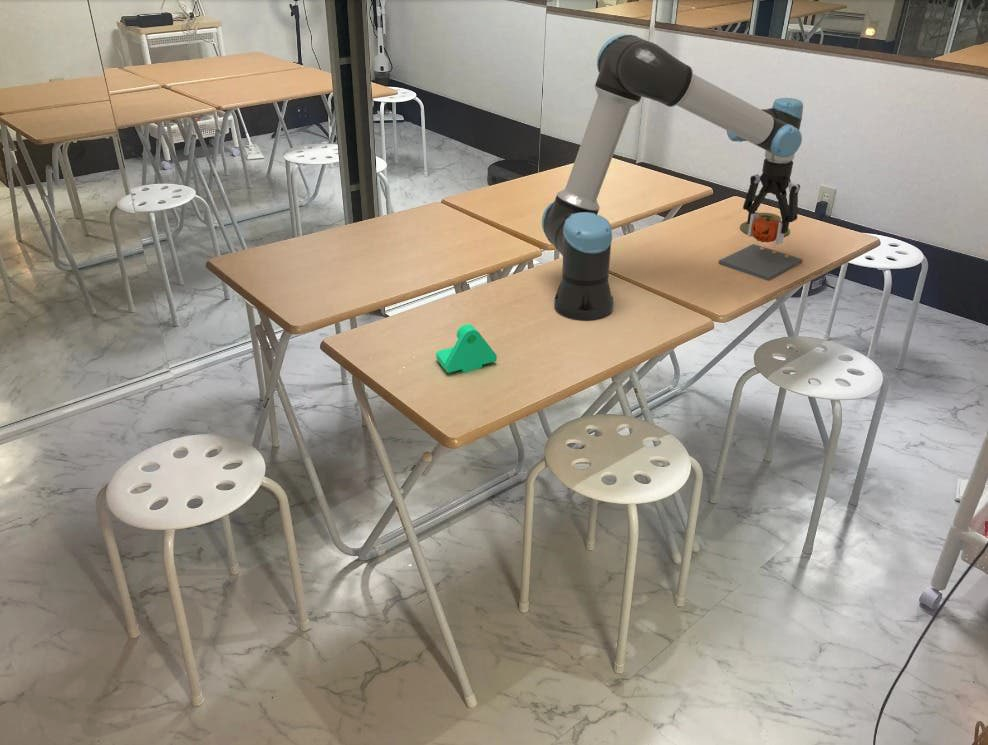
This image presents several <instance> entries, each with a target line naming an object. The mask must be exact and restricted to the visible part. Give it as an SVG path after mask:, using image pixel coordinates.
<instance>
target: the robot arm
mask: <svg viewBox="0 0 988 745" xmlns="http://www.w3.org/2000/svg"><path fill="white" fill-rule="evenodd" d="M596 58H597V59H596V66H597V70H598V75H597V78H596V80H595V84H594V89H595V91H596V93H597V97H596V101H595V104H594V106H593V109H592V111H591V115H590V116H589V120H588V123H587V126H586V128H585V132H584V134H583V137H582V139H581V142H580V145H579V149H578V151H577V155H576V158H575V160H574V162H573V166H572V167H571V168H572V169H571V171H570V175H569V176H568V180H567V182H566V185H565V187H564V189H561V190H560V191H558V192H557V193H556V197H555V199H554V201H553V202H551V203H549V204H548V206H546V208H545V209H544V212H543V214H542V217H541V227H542V231H543V233H544V235H545V237H546V239H547V241H548V242H549V243H550V244H551V245H553V247H554V248H555V249H556V250H557V251H558V252H559V254H560V255H561V256H562V269H561V270H562V274H561V279H560V283H559V285H558V288H557V291H556V293H555V294H554V304H553V308H554V310H555V311H556V312H557V314H560V315H561V316H563V317H566V318H568V319H573V320H579V321H593V320H600V319H603V318H605V317H607V316H609V315H610V314H612V312H613V311H614V303H615V302H614V301H615V300H614V296H613V295H612V292H611V288H610V287H611V286H610V283H609V282H610V281H609V274H610V272H609V271H610V265H611V264H610V261H611V249H612V241H613V234H612V225H611V223H610V222H609V220H608V219H606V217H604V216H602V215H601V214H598V213H599V211H600V208H601V206H600V205H599V203H598V200H597V199H598V197H599V194H600V191H601V189H602V185H603V183H604V181H605V178H606V176H607V173H608V170H609V168H610V165H611V163H612V160H613V156H614V154H615V151H616V148H617V146H618V143H619V141H620V138H621V134H622V132H623V131H624V128H625V124H626V123H627V119H628V116H629V114H630V111H631V108H632V107H634V106H635V105H637V104H639V103H640V102H641V100H642V98H645V99H646V98H647V99H649V100H652V101H655V102H657V103H660V104H663V105H664V106H667V107H669V108H673V107H676V106H678V107H679V108H681V109H684V110H686V111H687V112H690V113H691V114H693V115H695V116H697V117H699V118H701V119H703V120H705V121H708V122H709V123H711V124H713V125H715V126H717V127H719V128H721V129H724V130H725V131H726V134H727V138H728V139H729V140H730V141H732V142H739V143H742V142H749V143H750V144H753V145H754V146H756V147H758V148H760V149H763V150H765V153H764V160H763V164H762V173H761V174H760V175H759V174H757V173H756V174H754V175H751V176H750V179H749V180H750V185H749V188H748V190H747V193H746V197H745V199H744V203H743V206H742V209H743V210H746V211H747V212H748V215H747V216H748V217H747V221H746V222H748V224H749V231H748V235H747V237H752V236H753V235H752V225H753V223H754V222H755V221H756V220H757V219H758V214H759V213H760V212H758V209H759V208H760V206H761V204H762V202H763V201H764V200H765V198H766V196H767V195H768V194H772V195H774V196H775V197H776V200H777V202H778V208H779V213H780V217H781V221H780V222H779V225H778V231H777V236H776V240H775V241H774V242H775V243H774V245H776V246H778V245H780V244H782V243H783V242H784V238H785V237H784V234H785V233H787V231H788V228H789V227H790V226H789V225H790V223H792V222H795V221H796V220H798V207H799V206H798V205H799V203H798V202H799V191H800V189H801V185H800V184H798V183H797V184H796V183H792V181H791V175H792V172H793V166H794V161H793V160H795V154H796V152H798V151H799V149H800V147H801V145H802V142H803V141H802V140H803V136H802V133H801V131H800V130H801V129H800V128H801V123H802V120H803V112H804V103H803V102H802V100H800V99H797V98H792V97H779V98H776V99H774V100H773V104H772V105H771V108H765V109H764V108H763V109H761V108H758V106H757V107H756V106H754V105H753V104H751V103H749V102H747V101H745V100H743V99H741V98H739V97H738V96H735V94H732V93H730V92H728V91H726V90H724V89H723V88H721V87H719V86H717V85H715V84H713V83H711V82H710V81H707V80H705V79H704V78H702V77H701V76H698V75H696V74H694V70H693V68H692V67H691V66H690V65H688V64H686V63H684V62H682V61H681V60H679V59H678V58H676V57H675V56H674V55H672V54H671V53H669V52H668V51H667V50H666V49H664V48H662V47H661V46H659V45H658V44H657V43H654V42H652V41H649V40H646V39H644V38H642V37H639V36H637V35H633V34H626V33H624V34H623V33H622V34H617V35H614V36H612V37H611V38H609V39H607V40H606V41H605V42H604V44H603V45H602V46H601V48H600V49H599V51H598V55H597V57H596ZM760 183H761V185H762V186H761V188H760V190H759V191H758V189H759V185H760ZM787 189H788V192H789V195H788V194H787ZM757 191H758V192H759V193H758V194H757V196H756V193H757ZM787 195H788V196H789V197H787ZM755 196H756V197H755ZM787 198H788V199H787Z"/></svg>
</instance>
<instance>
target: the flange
mask: <svg viewBox="0 0 988 745" xmlns="http://www.w3.org/2000/svg"><path fill="white" fill-rule="evenodd" d="M758 213H759V214H758V218H763V217H768V216H769V217H771V218H773V219H776V220H777V221H779V222H780V221H782V218H781V215H778V214H775V213H771V212H758ZM739 230H740V231H741V232H742V233H743V234H745V235H747V236H748V231H749V224H748V222H747V221H744V222H743V223H741V224H740V225H739ZM790 233H791V229H790V228H789V227H788V231H787V233H785V234H784V238H786V237H789V235H790ZM751 237H753V236H751ZM753 238H754V237H753Z"/></svg>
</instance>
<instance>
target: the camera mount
mask: <svg viewBox="0 0 988 745" xmlns="http://www.w3.org/2000/svg"><path fill="white" fill-rule="evenodd" d="M456 338H457V340H456V341H455V344H454V345H453V346H452V347H449V348H444V349H438V350H437V351H436V352H435V356H436V358H435V359H436V360H437V362H438V363H439V364H440V365H441V367H442V368H443V369H444V370H445V371H446V372H447V374H449V373H453V372H456V371H461V372H462V373H466V372H467V373H469V372H470V371H475V370H479V369H482V368H483V365H485V364H490V363H495V362H497V361H498V360H497V359H498V358H497V353H495V351H494V350H493V349H492V347H491V346H490V345H489V343H488V342H487V341H486V340H485V338H484V337H483V336H482V334H481V333H480V332H479V331H478V330H477V329H476V327H474V326H473V325H472V324H469V323H466V324H463V325H461V326H460V327H459V328H458V329H457V332H456Z"/></svg>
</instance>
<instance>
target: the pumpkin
mask: <svg viewBox="0 0 988 745" xmlns="http://www.w3.org/2000/svg"><path fill="white" fill-rule="evenodd" d="M778 225H779V221H777V220H776V219H773V218H771V217H769V216H768V217H763V218H758V219H757V220H756V221H755V222H754V223H753V225H752V235H753V238H754V239H755V240H756V241H758V242H761V243H767V244H768V243H773V242H776V236H777V231H778Z"/></svg>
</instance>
